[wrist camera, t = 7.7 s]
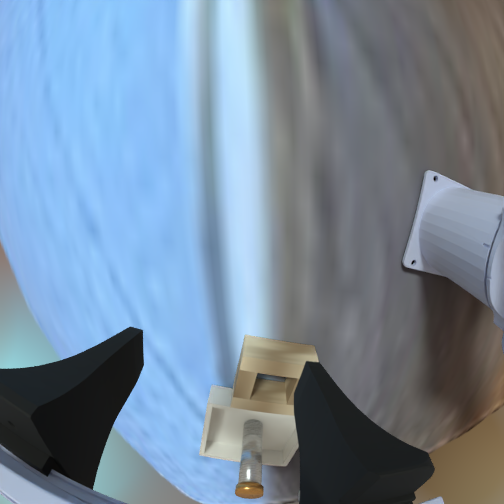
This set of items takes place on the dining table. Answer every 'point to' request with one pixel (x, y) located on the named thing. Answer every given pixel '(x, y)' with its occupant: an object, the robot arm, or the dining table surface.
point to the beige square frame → (272, 363)
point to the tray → (231, 431)
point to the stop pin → (251, 461)
